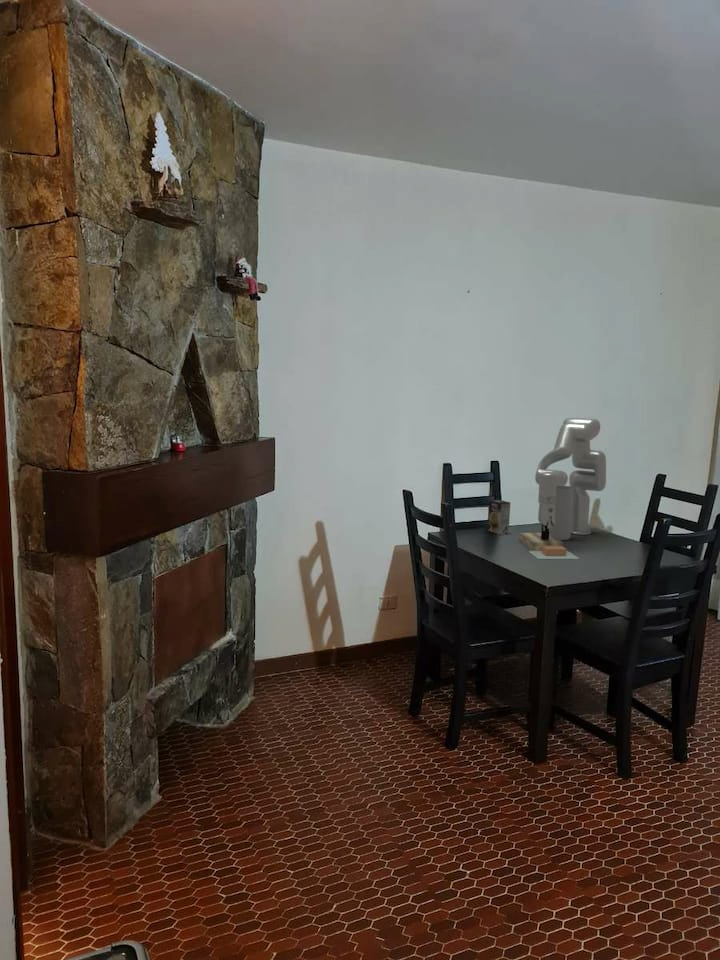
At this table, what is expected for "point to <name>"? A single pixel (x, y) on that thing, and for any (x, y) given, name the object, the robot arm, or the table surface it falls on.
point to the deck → (538, 541)
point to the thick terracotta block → (554, 550)
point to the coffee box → (499, 516)
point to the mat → (541, 556)
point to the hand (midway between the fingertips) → (544, 539)
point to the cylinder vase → (563, 513)
